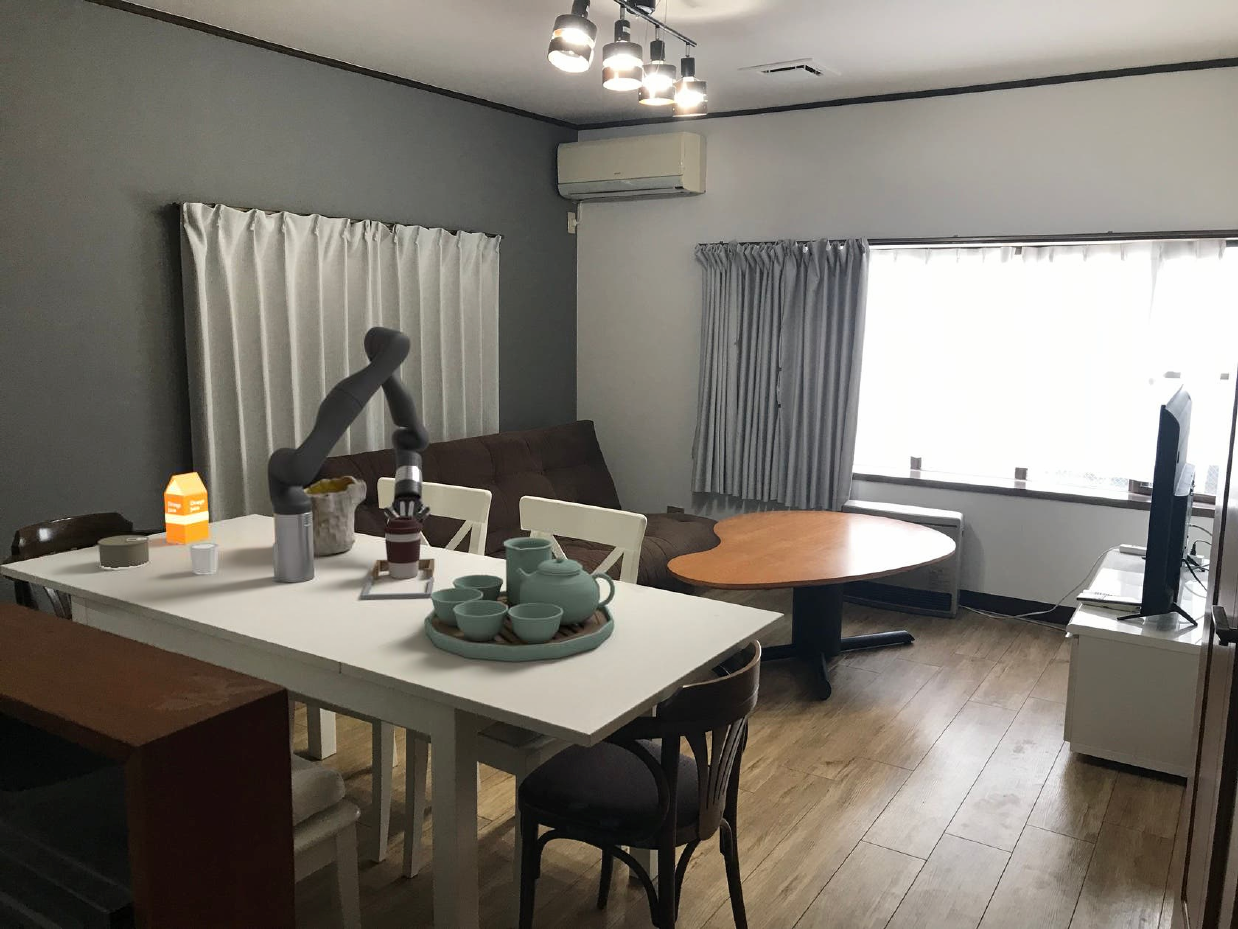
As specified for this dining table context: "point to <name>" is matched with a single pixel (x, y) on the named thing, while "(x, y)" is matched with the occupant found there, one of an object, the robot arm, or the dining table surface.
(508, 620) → the tea set
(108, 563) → the can
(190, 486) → the orange juice
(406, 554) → the coffee cup
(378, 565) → the cup holder
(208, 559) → the shot glass
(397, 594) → the grey bay
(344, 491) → the ceramic vessel
